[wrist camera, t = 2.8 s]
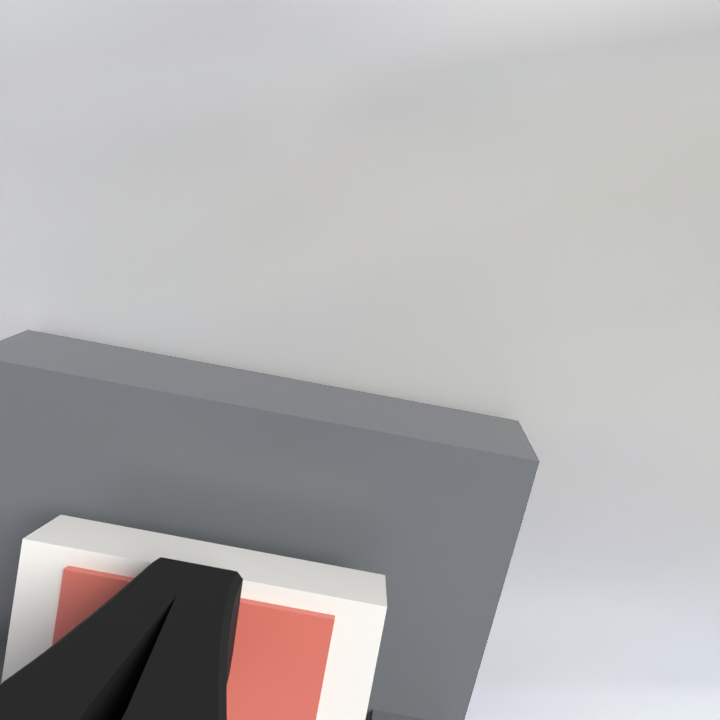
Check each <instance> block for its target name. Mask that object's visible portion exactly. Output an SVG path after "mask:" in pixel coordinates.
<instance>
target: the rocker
mask: <svg viewBox="0 0 720 720" xmlns="http://www.w3.org/2000/svg"><path fill="white" fill-rule="evenodd" d="M160 557H163V558H168V559H173V560H179V561H184V562H190V563H195V564H200V565H206V566H211V567H216V568H222V569H227V570H233V571H237V572H238V573H239V574H240V576H241V577H242V578H243V583H242V590H241V597H240V605H239V612H238V619H237V627H236V634H235V641H234V649H233V656H232V662H231V667H230V673H229V678H228V682H227V694H226V695H227V720H365V719H366V714H367V709H368V703H369V698H370V693H371V688H372V683H373V678H374V673H375V667H376V662H377V657H378V652H379V647H380V642H381V636H382V631H383V626H384V621H385V616H386V611H387V595H386V579H385V575H382V574H377V573H371V572H366V571H361V570H355V569H350V568H344V567H339V566H334V565H328V564H323V563H318V562H312V561H307V560H302V559H296V558H291V557H286V556H280V555H275V554H269V553H264V552H259V551H253V550H248V549H243V548H237V547H232V546H227V545H221V544H216V543H211V542H205V541H200V540H194V539H189V538H184V537H178V536H173V535H168V534H162V533H157V532H152V531H146V530H141V529H136V528H130V527H125V526H119V525H114V524H109V523H103V522H98V521H93V520H87V519H82V518H77V517H71V516H66V515H59V516H58V517H56V518H55V519H53V520H51V521H50V522H48V523H47V524H45V525H44V526H42V527H40V528H39V529H37V530H36V531H34V532H32V533H31V534H29V535H28V536H26V537H25V538H23V539H22V546H21V553H20V559H19V566H18V573H17V580H16V586H15V593H14V600H13V607H12V613H11V620H10V627H9V634H8V640H7V647H6V654H5V660H4V667H3V674H2V681H1V683H2V682H4V681H5V680H6V679H8V678H9V677H11V676H12V675H13V674H15V673H16V672H17V671H19V670H20V669H22V668H23V667H24V666H26V665H27V664H28V663H30V662H31V661H33V660H34V659H35V658H37V657H38V656H39V655H41V654H42V653H43V652H45V651H46V650H47V649H49V648H50V647H51V646H52V645H54V644H55V643H56V642H57V641H59V640H60V639H61V638H62V637H64V636H65V635H66V634H67V633H69V632H70V631H71V630H73V629H74V628H75V627H76V626H78V625H79V624H80V623H81V622H83V621H84V620H85V619H86V618H88V617H89V616H90V615H91V614H93V613H94V612H95V611H96V610H97V609H99V608H100V607H101V606H102V605H103V604H105V603H106V602H107V601H108V600H109V599H111V598H112V597H113V596H114V595H115V594H117V593H118V592H119V591H120V590H121V589H122V588H124V587H125V586H126V585H127V584H128V583H129V582H131V581H132V580H133V579H134V578H135V577H136V576H137V575H139V574H140V573H141V572H142V571H143V570H144V569H145V568H147V567H148V566H149V565H150V564H151V563H152V562H154V561H155V560H157V559H159V558H160Z"/></svg>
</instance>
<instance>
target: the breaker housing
mask: <svg viewBox="0 0 720 720" xmlns="http://www.w3.org/2000/svg"><path fill="white" fill-rule="evenodd" d="M538 464H539V460H538V458H537V456H536V454H535V452H534V450H533V448H532V446H531V444H530V443H529V441H528V439H527V437H526V435H525V433H524V431H523V429H522V427H521V425H520V423H519V422H518V421H515V420H510V419H505V418H499V417H494V416H488V415H483V414H478V413H472V412H467V411H461V410H456V409H451V408H445V407H440V406H435V405H429V404H424V403H418V402H413V401H408V400H402V399H397V398H391V397H386V396H381V395H375V394H370V393H365V392H359V391H354V390H348V389H343V388H338V387H332V386H327V385H321V384H316V383H311V382H305V381H300V380H294V379H289V378H284V377H278V376H273V375H268V374H262V373H257V372H251V371H246V370H241V369H235V368H230V367H224V366H219V365H214V364H208V363H203V362H197V361H192V360H187V359H181V358H176V357H171V356H165V355H160V354H154V353H149V352H144V351H138V350H133V349H127V348H122V347H117V346H111V345H106V344H101V343H95V342H90V341H84V340H79V339H74V338H68V337H63V336H57V335H52V334H47V333H41V332H36V331H30V330H27V331H24V332H22V333H19V334H17V335H14V336H12V337H9V338H7V339H4V340H2V341H0V684H1V681H2V674H3V667H4V660H5V654H6V647H7V640H8V634H9V627H10V620H11V613H12V607H13V600H14V593H15V586H16V580H17V573H18V566H19V559H20V553H21V546H22V539H23V538H25V537H26V536H28V535H29V534H31V533H32V532H34V531H36V530H37V529H39V528H40V527H42V526H44V525H45V524H47V523H48V522H50V521H51V520H53V519H55V518H56V517H58V516H59V515H66V516H71V517H77V518H82V519H87V520H93V521H98V522H103V523H109V524H114V525H119V526H125V527H130V528H136V529H141V530H146V531H152V532H157V533H162V534H168V535H173V536H178V537H184V538H189V539H194V540H200V541H205V542H211V543H216V544H221V545H227V546H232V547H237V548H243V549H248V550H253V551H259V552H264V553H269V554H275V555H280V556H286V557H291V558H296V559H302V560H307V561H312V562H318V563H323V564H328V565H334V566H339V567H344V568H350V569H355V570H361V571H366V572H371V573H377V574H382V575H385V579H386V595H387V611H386V616H385V621H384V626H383V631H382V636H381V642H380V647H379V652H378V657H377V662H376V667H375V673H374V678H373V683H372V688H371V693H370V698H369V703H368V709H367V714H366V719H365V720H464V719H465V715H466V712H467V708H468V705H469V702H470V698H471V695H472V691H473V688H474V684H475V681H476V678H477V674H478V671H479V667H480V664H481V660H482V657H483V653H484V650H485V647H486V643H487V640H488V636H489V633H490V629H491V626H492V623H493V619H494V616H495V612H496V609H497V605H498V602H499V598H500V595H501V592H502V588H503V585H504V581H505V578H506V574H507V571H508V567H509V564H510V561H511V557H512V554H513V550H514V547H515V543H516V540H517V537H518V533H519V530H520V526H521V523H522V519H523V516H524V512H525V509H526V506H527V502H528V499H529V495H530V492H531V488H532V485H533V482H534V478H535V475H536V471H537V468H538Z"/></svg>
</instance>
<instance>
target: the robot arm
mask: <svg viewBox="0 0 720 720" xmlns="http://www.w3.org/2000/svg"><path fill="white" fill-rule="evenodd" d="M242 583H243V578H242V577H241V576H240V574H239V573H238V572H237V571H233V570H227V569H222V568H216V567H211V566H206V565H200V564H195V563H190V562H184V561H179V560H173V559H168V558H163V557H160V558H159V559H157V560H155V561H154V562H152V563H151V564H150V565H149V566H148V567H147V568H145V569H144V570H143V571H142V572H141V573H140V574H139V575H137V576H136V577H135V578H134V579H133V580H132V581H131V582H129V583H128V584H127V585H126V586H125V587H124V588H122V589H121V590H120V591H119V592H118V593H117V594H115V595H114V596H113V597H112V598H111V599H109V600H108V601H107V602H106V603H105V604H103V605H102V606H101V607H100V608H99V609H97V610H96V611H95V612H94V613H93V614H91V615H90V616H89V617H88V618H86V619H85V620H84V621H83V622H81V623H80V624H79V625H78V626H76V627H75V628H74V629H73V630H71V631H70V632H69V633H67V634H66V635H65V636H64V637H62V638H61V639H60V640H59V641H57V642H56V643H55V644H54V645H52V646H51V647H50V648H49V649H47V650H46V651H45V652H43V653H42V654H41V655H39V656H38V657H37V658H35V659H34V660H33V661H31V662H30V663H28V664H27V665H26V666H24V667H23V668H22V669H20V670H19V671H17V672H16V673H15V674H13V675H12V676H11V677H9V678H8V679H6V680H5V681H4V682H2V683H1V684H0V720H227V695H226V694H227V682H228V678H229V673H230V667H231V662H232V656H233V649H234V641H235V634H236V627H237V619H238V612H239V605H240V597H241V590H242Z"/></svg>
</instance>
